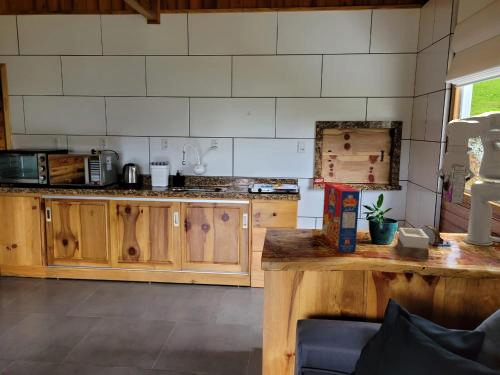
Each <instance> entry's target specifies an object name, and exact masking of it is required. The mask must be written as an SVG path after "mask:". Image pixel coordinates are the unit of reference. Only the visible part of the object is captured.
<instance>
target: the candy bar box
mask: <svg viewBox="0 0 500 375" xmlns="http://www.w3.org/2000/svg"><path fill="white" fill-rule="evenodd" d="M466 167H467V166H464V165H452V168H451V174H450V176H449V178H448V180H447V182H448V187H447V191H444V190H443V197H442V198H443V200H445V201H446V202H448V203H451V204H457V205H462V204H464V196H465V195H464V194H465V193H464V192H465V190H464V186H465V187H466V183H465V178H466V177H467V176H466Z"/></svg>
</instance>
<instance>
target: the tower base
mask: <svg viewBox="0 0 500 375" xmlns="http://www.w3.org/2000/svg"><path fill="white" fill-rule="evenodd" d="M396 246H397V253H398V256H401V257H409V258H416V259H427V260H428V259H429V254H430V253H429V252H430V249H429V248H428V249H424V248H413V247H404V246H403V245H402V243H401V241H400V240H399V238H398V237H397V241H396Z"/></svg>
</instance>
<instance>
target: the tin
mask: <svg viewBox="0 0 500 375" xmlns="http://www.w3.org/2000/svg"><path fill="white" fill-rule="evenodd" d="M422 230H423V232H424V233H425V234H426V235H427V236H428V237H429V243H428V244H429V245H431V246H439V245H440V244H441V233H440V231H439V229H438V228H437V227H435V226H433V225H431V224H428V225H424V226H423V227H422Z"/></svg>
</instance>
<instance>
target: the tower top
mask: <svg viewBox="0 0 500 375" xmlns="http://www.w3.org/2000/svg"><path fill="white" fill-rule="evenodd" d="M398 238H399V240H400V241H401V243H402V245H403V246H404V247H413V248H424V249H429V244H430V243H429V237H428V236H427V235H426V234H425V233H424V232H423V228H410V227H399V228H398V236H397V239H398Z"/></svg>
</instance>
